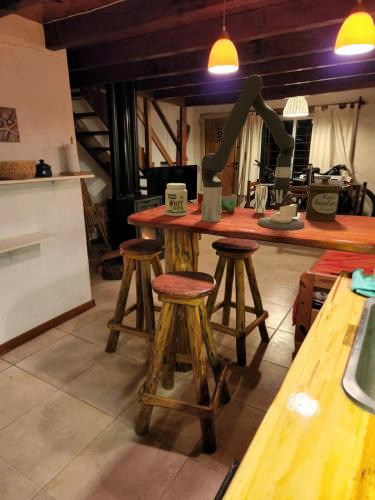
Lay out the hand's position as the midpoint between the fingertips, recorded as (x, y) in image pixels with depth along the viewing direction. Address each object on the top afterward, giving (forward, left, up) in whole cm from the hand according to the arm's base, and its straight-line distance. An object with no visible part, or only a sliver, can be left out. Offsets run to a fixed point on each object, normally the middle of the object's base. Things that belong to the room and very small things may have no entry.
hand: (279, 210), depth 165 cm
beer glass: (0, +21, -5) cm, 21 cm away
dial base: (-5, -10, -5) cm, 12 cm away
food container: (-17, +25, -5) cm, 30 cm away
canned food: (-30, +35, -5) cm, 46 cm away
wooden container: (+23, -3, -5) cm, 24 cm away
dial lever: (-1, -8, -3) cm, 9 cm away
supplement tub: (-49, +27, -5) cm, 56 cm away
